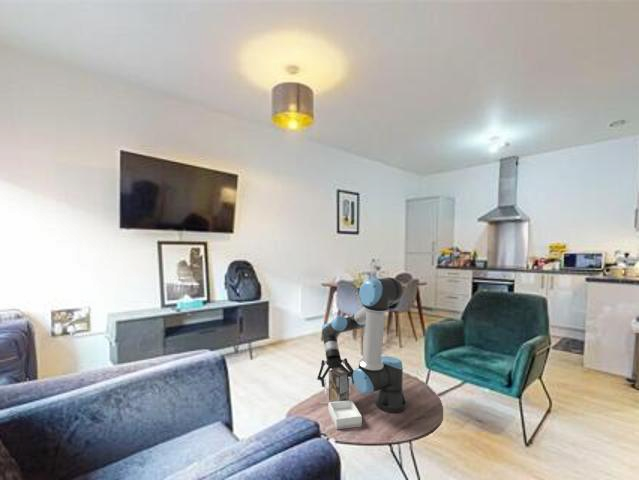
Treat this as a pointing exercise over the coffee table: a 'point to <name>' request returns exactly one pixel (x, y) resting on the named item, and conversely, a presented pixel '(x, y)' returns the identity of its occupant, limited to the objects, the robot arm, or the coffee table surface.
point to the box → (345, 414)
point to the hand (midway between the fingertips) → (339, 392)
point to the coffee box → (338, 385)
